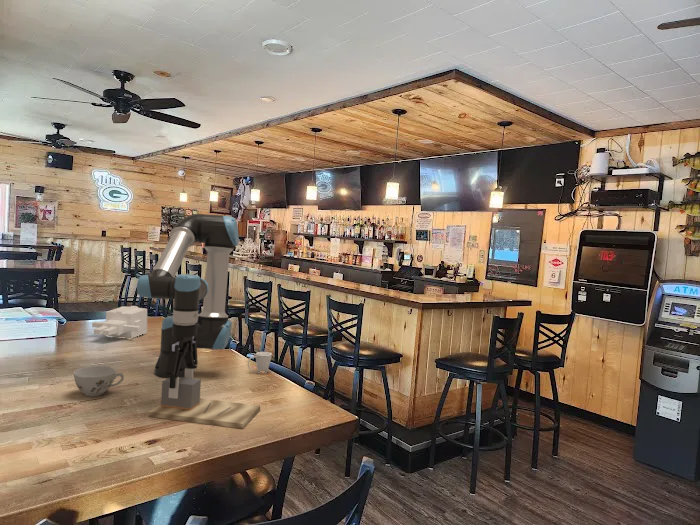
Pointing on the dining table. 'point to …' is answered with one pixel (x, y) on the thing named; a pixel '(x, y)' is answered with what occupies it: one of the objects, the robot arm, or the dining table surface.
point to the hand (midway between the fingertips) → (180, 392)
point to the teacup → (96, 379)
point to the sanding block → (182, 394)
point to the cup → (262, 361)
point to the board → (211, 413)
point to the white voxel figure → (123, 322)
